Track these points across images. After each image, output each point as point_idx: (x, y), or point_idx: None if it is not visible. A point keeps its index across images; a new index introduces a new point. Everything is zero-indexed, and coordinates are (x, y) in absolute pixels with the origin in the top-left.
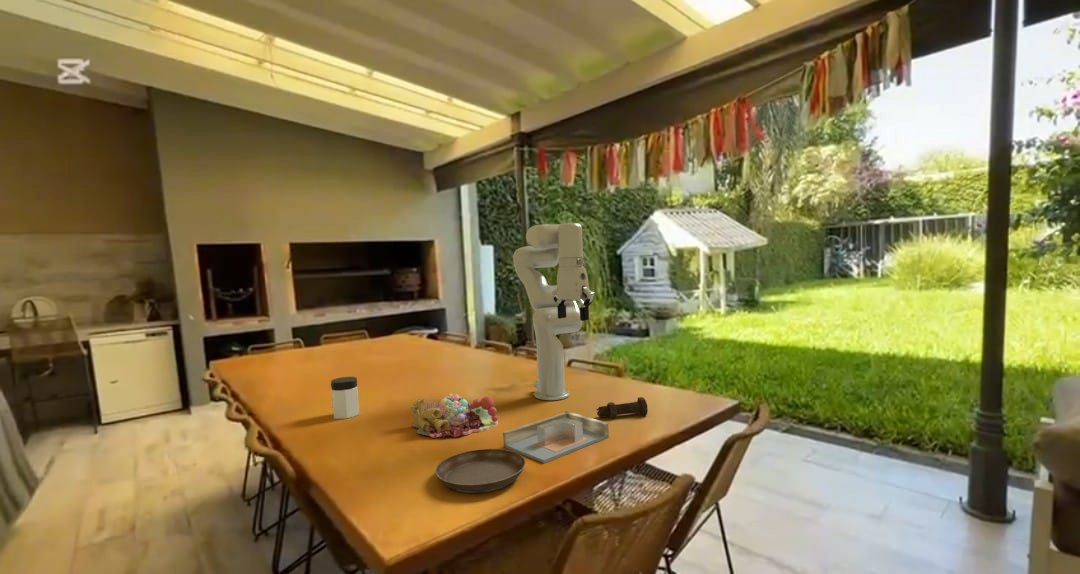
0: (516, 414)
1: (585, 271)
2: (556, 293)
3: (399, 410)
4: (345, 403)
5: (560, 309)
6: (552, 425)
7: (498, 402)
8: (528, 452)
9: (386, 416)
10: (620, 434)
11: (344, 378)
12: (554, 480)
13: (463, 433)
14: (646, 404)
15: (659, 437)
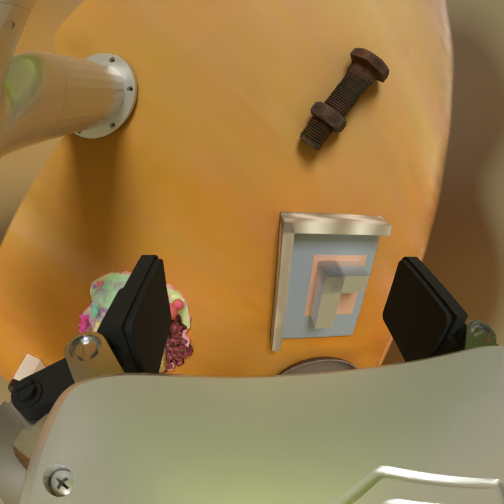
0: (151, 236)
1: None
2: (28, 461)
3: (38, 329)
4: None
5: (155, 361)
6: (334, 313)
7: (65, 212)
8: (321, 334)
9: (56, 349)
10: (389, 193)
11: None
12: (381, 344)
13: (188, 346)
14: (388, 72)
15: (440, 168)
